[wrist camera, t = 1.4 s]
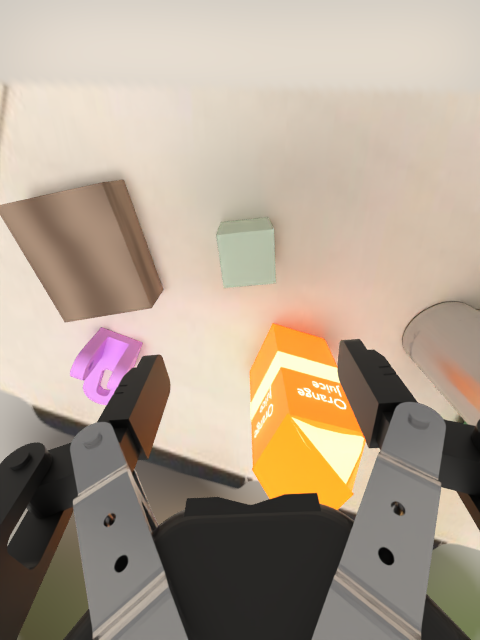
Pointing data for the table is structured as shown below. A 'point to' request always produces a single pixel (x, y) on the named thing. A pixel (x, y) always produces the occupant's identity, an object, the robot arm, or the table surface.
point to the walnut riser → (86, 250)
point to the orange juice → (302, 420)
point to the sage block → (247, 252)
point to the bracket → (105, 363)
